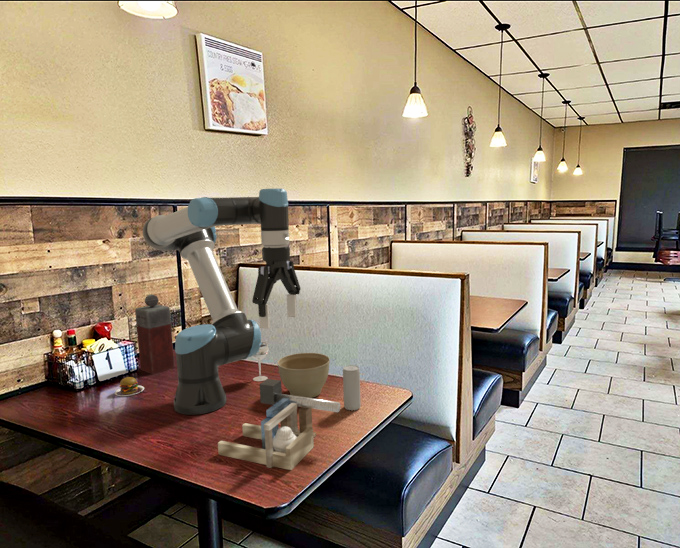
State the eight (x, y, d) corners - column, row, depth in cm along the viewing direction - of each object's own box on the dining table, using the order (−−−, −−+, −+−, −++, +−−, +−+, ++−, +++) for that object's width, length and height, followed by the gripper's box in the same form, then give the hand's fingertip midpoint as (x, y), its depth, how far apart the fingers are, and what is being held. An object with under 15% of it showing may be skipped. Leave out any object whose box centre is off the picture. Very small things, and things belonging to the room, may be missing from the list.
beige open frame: (216, 456, 115) (213, 415, 113) (247, 432, 126) (245, 395, 125) (289, 472, 107) (287, 428, 105) (315, 445, 118) (313, 406, 117)
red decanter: (159, 362, 188) (153, 291, 184) (175, 367, 181) (168, 293, 177) (137, 368, 181) (130, 295, 177) (152, 374, 174) (145, 297, 170)
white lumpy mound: (291, 463, 110) (290, 434, 109) (267, 459, 112) (266, 431, 111) (302, 450, 116) (301, 422, 115) (279, 446, 118) (278, 419, 117)
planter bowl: (290, 382, 161) (288, 351, 160) (336, 386, 157) (335, 353, 155) (270, 401, 146) (268, 367, 144) (321, 406, 141) (320, 370, 140)
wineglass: (246, 379, 165) (244, 345, 164) (260, 373, 171) (258, 341, 169) (260, 383, 161) (258, 348, 160) (274, 377, 167) (272, 343, 165)
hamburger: (149, 384, 166) (148, 369, 165) (149, 396, 155) (148, 380, 154) (110, 390, 161) (109, 374, 161) (108, 403, 150) (106, 386, 150)
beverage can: (359, 411, 137) (358, 370, 135) (342, 410, 138) (341, 370, 136) (361, 404, 141) (360, 365, 140) (345, 404, 142) (344, 364, 141)
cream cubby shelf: (277, 436, 123) (276, 407, 122) (285, 430, 127) (284, 401, 126) (308, 442, 120) (307, 412, 119) (316, 435, 123) (314, 405, 122)
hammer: (240, 449, 116) (237, 398, 115) (270, 425, 129) (267, 378, 127) (319, 465, 108) (316, 410, 106) (342, 438, 120) (341, 388, 118)
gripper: (260, 250, 119) (264, 334, 122) (310, 242, 141) (313, 313, 144) (235, 250, 122) (240, 332, 125) (288, 242, 144) (291, 311, 147)
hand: (279, 322), depth 134 cm, fingers open, 13 cm apart
